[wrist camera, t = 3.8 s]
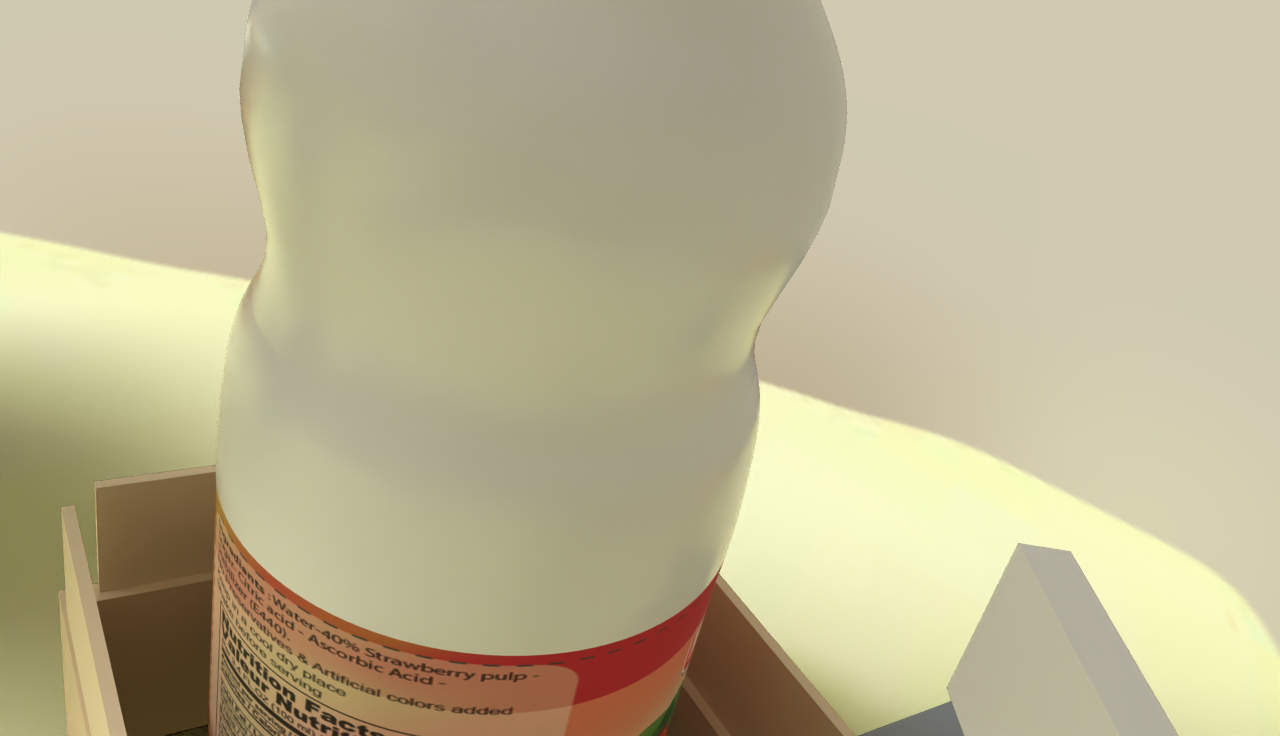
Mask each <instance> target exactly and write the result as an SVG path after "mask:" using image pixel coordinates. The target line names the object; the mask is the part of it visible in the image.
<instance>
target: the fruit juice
mask: <svg viewBox="0 0 1280 736" xmlns="http://www.w3.org/2000/svg"><path fill="white" fill-rule="evenodd" d="M239 90H240V104H241V117H242V123H243V129H244V135H245V141H246V146H247V152H248V156H249V160H250V164H251V168H252V172H253V176H254V180H255V183H256V187H257V191H258V195H259V199H260V203H261V207H262V211H263V216H264V220H265V224H266V228H267V236H266V252H265V256H264V259H263V262H262V264H261V266H260V268H259V270H258V271H257V273H256V274H255V276H254V277H253V279H252V280H251V282H250V284H249V286H248V288H247V290H246V292H245V294H244V295H243V297H242V299H241V302H240V304H239V307H238V310H237V313H236V315H235V318H234V321H233V325H232V329H231V333H230V337H229V342H228V347H227V353H226V358H225V365H224V372H223V379H222V387H221V396H220V406H219V416H218V426H217V437H216V508H215V538H214V567H213V595H212V623H211V653H210V682H209V711H208V736H666V733H667V730H668V727H669V723H670V720H671V717H672V714H673V711H674V708H675V705H676V702H677V699H678V696H679V693H680V690H681V687H682V684H683V681H684V678H685V674H686V671H687V668H688V665H689V662H690V659H691V656H692V653H693V650H694V647H695V644H696V641H697V638H698V634H699V631H700V628H701V625H702V622H703V619H704V616H705V613H706V610H707V607H708V604H709V601H710V598H711V595H712V592H713V589H714V586H715V583H716V580H717V577H718V574H719V572H720V569H721V566H722V563H723V561H724V558H725V555H726V552H727V550H728V547H729V544H730V541H731V538H732V536H733V532H734V529H735V526H736V523H737V519H738V515H739V511H740V507H741V503H742V500H743V496H744V492H745V488H746V484H747V480H748V476H749V472H750V467H751V463H752V458H753V454H754V449H755V443H756V438H757V431H758V423H759V413H760V389H759V381H758V373H757V368H756V362H755V353H754V350H755V340H756V337H757V334H758V331H759V329H760V326H761V323H762V321H763V319H764V318H765V316H766V315H767V313H768V312H769V310H770V309H771V307H772V306H773V304H774V303H775V301H776V300H777V298H778V296H779V295H780V293H781V292H782V290H783V289H784V288H785V286H786V285H787V283H788V282H789V280H790V279H791V277H792V276H793V274H794V273H795V271H796V270H797V268H798V267H799V265H800V264H801V262H802V260H803V259H804V257H805V255H806V253H807V252H808V250H809V248H810V246H811V245H812V243H813V241H814V239H815V238H816V236H817V234H818V232H819V230H820V227H821V225H822V223H823V221H824V219H825V216H826V214H827V212H828V209H829V206H830V202H831V198H832V195H833V191H834V187H835V182H836V178H837V174H838V170H839V166H840V162H841V159H842V154H843V148H844V143H845V135H846V122H847V121H846V120H847V100H846V89H845V81H844V74H843V70H842V66H841V61H840V57H839V53H838V49H837V46H836V42H835V39H834V36H833V33H832V31H831V28H830V25H829V22H828V19H827V16H826V14H825V11H824V9H823V6H822V3H821V1H820V0H252V4H251V7H250V11H249V15H248V20H247V26H246V32H245V42H244V52H243V60H242V69H241V78H240V88H239Z"/></svg>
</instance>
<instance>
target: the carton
mask: <svg viewBox="0 0 1280 736" xmlns="http://www.w3.org/2000/svg"><path fill="white" fill-rule="evenodd" d="M94 490H95V519H96V547H97V575H98V583H95V584H92V580H91V576H90V571H89V567H88V563H87V558H86V554H85V549H84V545H83V541H82V536H81V532H80V528H79V523H78V519H77V514H76V510H75V506H74V505H71V506H64V507H61V515H62V534H63V552H64V571H65V589H62V590H58V592H59V609H60V626H61V643H62V660H63V677H64V694H65V711H66V728H67V736H164V735H168V734H172V733H176V732H180V731H184V730H188V729H192V728H196V727H200V726H204V725H207V724H208V711H209V682H210V653H211V623H212V595H213V567H214V538H215V508H216V465H213V466H205V467H198V468H190V469H183V470H175V471H168V472H160V473H153V474H145V475H138V476H130V477H123V478H115V479H108V480H100V481H94ZM666 736H855V735H854V733H853V732H852V731H851V730H850V729H849V727H848V726H847V725H846V724H845V723H844V722H843V720H842V719H841V718H840V717H839V716H838V714H837V713H836V712H835V711H834V710H833V708H832V707H831V706H830V705H829V704H828V703H827V701H826V700H825V699H824V698H823V697H822V695H821V694H820V693H819V692H818V691H817V689H816V688H815V687H814V686H813V685H812V684H811V682H810V681H809V680H808V679H807V678H806V676H805V675H804V674H803V673H802V672H801V670H800V669H799V668H798V667H797V666H796V665H795V663H794V662H793V661H792V660H791V659H790V657H789V656H788V655H787V654H786V653H785V651H784V650H783V649H782V648H781V647H780V645H779V644H778V643H777V642H776V641H775V640H774V638H773V637H772V636H771V635H770V634H769V632H768V631H767V630H766V629H765V628H764V626H763V625H762V624H761V623H760V622H759V621H758V619H757V618H756V617H755V616H754V615H753V613H752V612H751V611H750V610H749V609H748V607H747V606H746V605H745V604H744V603H743V602H742V600H741V599H740V598H739V597H738V596H737V594H736V593H735V592H734V591H733V590H732V588H731V587H730V586H729V585H728V584H727V582H726V581H725V580H724V579H723V578H722V577H721V575H720V574H718V577H717V580H716V583H715V586H714V589H713V592H712V595H711V598H710V601H709V604H708V607H707V610H706V613H705V616H704V619H703V622H702V625H701V628H700V631H699V634H698V638H697V641H696V644H695V647H694V650H693V653H692V656H691V659H690V662H689V665H688V668H687V671H686V674H685V678H684V681H683V684H682V687H681V690H680V693H679V696H678V699H677V702H676V705H675V708H674V711H673V714H672V717H671V720H670V723H669V727H668V730H667V733H666Z"/></svg>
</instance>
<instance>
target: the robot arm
mask: <svg viewBox="0 0 1280 736" xmlns="http://www.w3.org/2000/svg"><path fill="white" fill-rule="evenodd" d="M947 691H948V693H949V696H950V699H951V701H952V704H953V707H954V709H955V712H956V715H957V717H958V720H959V723H960V725H961V728H962V731H963V734H964V736H1178V734H1177V732H1176V730H1175V729H1174V727H1173V725H1172V724H1171V722H1170V720H1169V719H1168V717H1167V715H1166V713H1165V712H1164V710H1163V708H1162V707H1161V705H1160V703H1159V701H1158V700H1157V698H1156V696H1155V695H1154V693H1153V691H1152V689H1151V688H1150V686H1149V684H1148V683H1147V681H1146V679H1145V678H1144V676H1143V674H1142V672H1141V671H1140V669H1139V667H1138V666H1137V664H1136V662H1135V660H1134V659H1133V657H1132V655H1131V654H1130V652H1129V650H1128V648H1127V647H1126V645H1125V643H1124V642H1123V640H1122V638H1121V637H1120V635H1119V633H1118V631H1117V630H1116V628H1115V626H1114V625H1113V623H1112V621H1111V619H1110V618H1109V616H1108V614H1107V613H1106V611H1105V609H1104V607H1103V606H1102V604H1101V602H1100V601H1099V599H1098V597H1097V596H1096V594H1095V592H1094V590H1093V589H1092V587H1091V585H1090V584H1089V582H1088V580H1087V578H1086V577H1085V575H1084V573H1083V572H1082V570H1081V568H1080V567H1079V565H1078V563H1077V561H1076V560H1075V558H1074V556H1073V555H1072V553H1071V551H1065V550H1059V549H1052V548H1046V547H1040V546H1033V545H1027V544H1020V543H1018V545H1017V547H1016V549H1015V551H1014V553H1013V555H1012V557H1011V559H1010V561H1009V563H1008V565H1007V567H1006V569H1005V571H1004V573H1003V575H1002V577H1001V579H1000V581H999V583H998V585H997V587H996V589H995V591H994V593H993V595H992V597H991V599H990V601H989V603H988V605H987V607H986V609H985V611H984V613H983V615H982V617H981V619H980V621H979V623H978V625H977V627H976V629H975V632H974V634H973V636H972V638H971V640H970V642H969V644H968V646H967V648H966V650H965V652H964V654H963V656H962V658H961V660H960V662H959V664H958V666H957V668H956V670H955V672H954V674H953V676H952V678H951V680H950V682H949V684H948V686H947Z"/></svg>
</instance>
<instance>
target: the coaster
mask: <svg viewBox="0 0 1280 736" xmlns="http://www.w3.org/2000/svg"><path fill="white" fill-rule="evenodd" d="M859 736H964V734H963V731H962V728H961V725H960V723H959V720H958V717H957V715H956V712H955V709H954V707H953V704H952V701H951V702H948V703H945V704H943V705H940V706H937V707H934V708H932V709H929V710H926V711H924V712H921V713H918V714H916V715H913V716H910V717H907V718H905V719H902V720H899V721H897V722H894V723H891V724H889V725H886V726H883V727H880V728H878V729H875V730H872V731H870V732H867V733H864V734H862V735H859Z"/></svg>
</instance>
